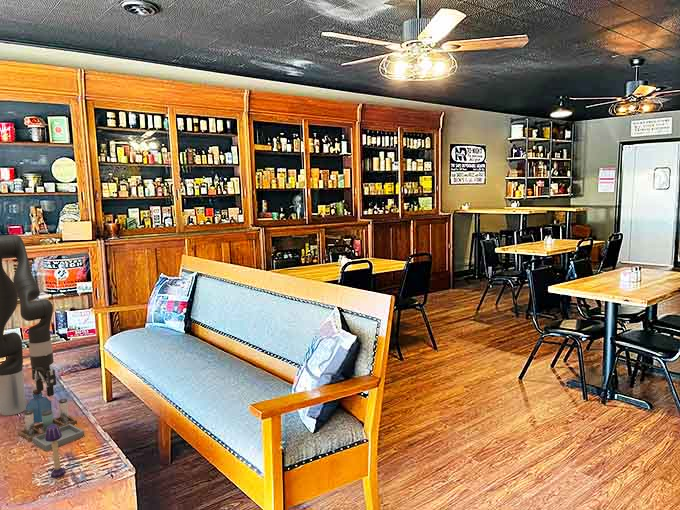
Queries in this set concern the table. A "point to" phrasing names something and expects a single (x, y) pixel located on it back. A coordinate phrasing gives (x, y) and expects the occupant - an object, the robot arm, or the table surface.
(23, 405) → the robot arm
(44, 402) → the perfume bottle
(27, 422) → the glass vial
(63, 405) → the canister
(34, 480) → the table surface
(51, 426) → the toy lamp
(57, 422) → the rack
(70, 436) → the dish
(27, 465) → the table surface
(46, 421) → the cylinder
